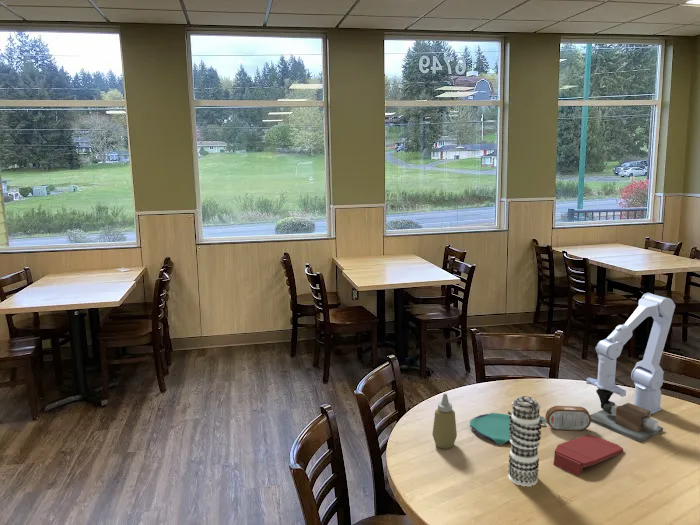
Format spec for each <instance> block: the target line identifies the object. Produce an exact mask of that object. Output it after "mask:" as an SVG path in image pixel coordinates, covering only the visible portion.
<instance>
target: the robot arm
mask: <svg viewBox="0 0 700 525" xmlns="http://www.w3.org/2000/svg"><path fill="white" fill-rule="evenodd" d="M637 303H638V306H637V307H636V308H635V310H634V311H633V313H632V314H631V315H630V316H629V317H628V319H627V320H626V321H625V323H623V324H618V325H617V326H616V327H615V329H613V330H612V332H611V333H610V334H608V336H607V337H606V338H604V339H602V340H599V341H598V343H597V344H596V346H595V351H596V353H597V359H598V366H597V379H596V378H592V377H587V378H586V382H585V384H587V385H591V386H594V387H596V388H597V389H596V390H595V392H596V394H597V397H599V402H600V409H601V410H603V406H604V403H605V402H606V401H608V400H609V401H610V398H611V397H612V396H613V394H616V395H619V396H620V397H622V398H623V397H626V396H627V390H625V389H624V388H622V387H620V386H618V385H616V383H615V382H616V369H617V368H616V367H617V358H619V357H620V356H621V353H622V350H623V348H624V346H625V344H627V342H628V341H629V340H630V339H631V338H632V337H633V331H634V330H635V329H636V328H637V327H638V326H639V325H641V323H642V322H643V321H644V320H646V319H647V318H649V317H652V319H653V323H652V327H651V330H650V333H649V337H648V341H647V345H646V348H645V350H644V354H643V358H642V360H640V361H638V362H636V363H635V366H634V368H633V369H632V371H631V374H630V378H631V380H632V381H633V385H635V386H634V387H635V388H634V398H633V405H636V406H639V407H642V408H644V409H647V410H650V411H651V412H650V416H651V415H653V414H656V413H657V412H659V411H662V410H663V407H661V404H662V403H661V400H662V390H661V387H662V386H663V385H664V384H663V383H664V373H665V372H664V370H663V368H662V367H661V366H660V363H661V358H662V356H663V351H664V348H665V344H666V342H667V337H668V334H669V331H670V328H671V325H672V322H673V321H672V320H673V316H674V312H675V308H676V304H675V303H674V300H673V299H672V298H670V297H666V296H660V295H657V294H653V293H651V292H646V293H644V294H643V295H642V296H641V298H639V300H638V302H637Z"/></svg>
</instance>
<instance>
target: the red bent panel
mask: <svg viewBox="0 0 700 525" xmlns="http://www.w3.org/2000/svg"><path fill="white" fill-rule="evenodd" d="M623 452H624V447H622V446H620V445H619V444H617V443H614V442H611V441H609V440H607V439H605V438H601V437H599V436H595V435H590V434H585V435H583V436H579V437H577V438H574V439H570V440H568V441H565V442H562V443H559V444H558V445H556V448H555V450H554V456H553V457H554V459H553V466H555V467H557V468H559V469H561V470H564V471H567V472H568V473H571V474H573V475H575V476H577V477H579V476H580V475H582V472H583V468H587V467H589V466H593V465H597V464H598V463H601V462H604V461H605V460H608V459H610V458H613V457H615V456H618V455H620V454H622V453H623Z"/></svg>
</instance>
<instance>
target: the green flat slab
mask: <svg viewBox="0 0 700 525" xmlns="http://www.w3.org/2000/svg"><path fill="white" fill-rule="evenodd" d="M509 414H510V415H512V412H510V411H507V414H506V413H498V412H491V413H486V414H480V415H478V416H475V417H474V418H472V419H470V422H469V427H470V428H471V429H472V430H473V431H474V432H475V433H476V434H477V435H479V436H481V437H483V438H485V439H489V440H492V441H494V443H496V444H497V445H499V446H500V445H504V444H506V443H507V442H510V436H509V435H510V430H509V428H510V425H509V423H510V419H509V416H510V415H509ZM511 419H512V416H511ZM540 419H541V420H542V424H543V427H545V426H546V427H547V424H548V423H547V421H546V418H545V417H544V416H541V415H540ZM548 425H549V424H548ZM511 430H512V429H511Z"/></svg>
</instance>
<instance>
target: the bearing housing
mask: <svg viewBox="0 0 700 525" xmlns="http://www.w3.org/2000/svg"><path fill="white" fill-rule="evenodd" d="M618 406H619V407H617V409H616V414H613V413H612V414H609V413H606V412H604V410H603V409H601V410H599V411H596V412H594V413H591V414H590V416H591V423H593V424H596V425H599V426H601V427H603V428H606V429H608V430H611V431H612V432H615V433H618V434H619V435H622V436H624V437H627V438H629V439H631V440H633V441H636V442H638V443H641V442H643V441H646V440H647V439H649V438H652V437H653V436H655V435H657V434H660V433H661V432H663V431H664V427H662V426H660V425H658V428H656V429H654V430H653V429H651V428H648V427H646V426H643V425H641V421H642V418H643V417H645V416H646V417H648V418H651V415H650V412H651V411H650V410H647V409H644V408H642V407H639V406H636V405H634V403H630V402H627V403H624V404H622V405H618Z"/></svg>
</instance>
